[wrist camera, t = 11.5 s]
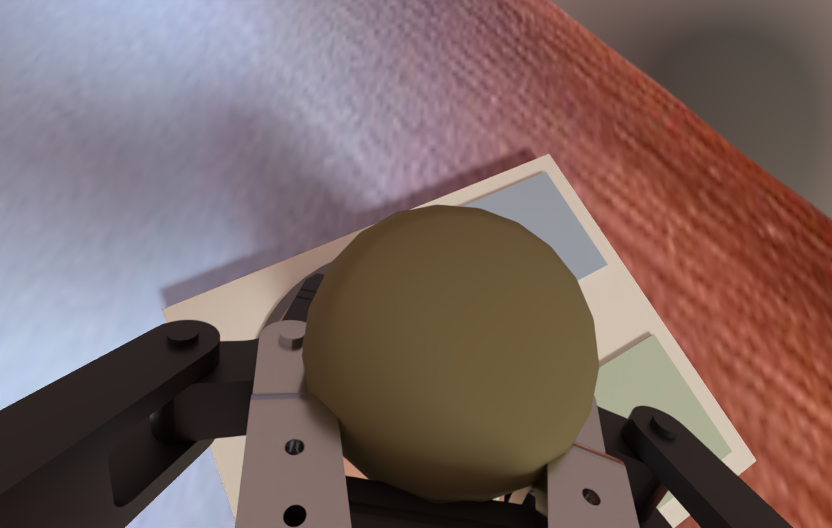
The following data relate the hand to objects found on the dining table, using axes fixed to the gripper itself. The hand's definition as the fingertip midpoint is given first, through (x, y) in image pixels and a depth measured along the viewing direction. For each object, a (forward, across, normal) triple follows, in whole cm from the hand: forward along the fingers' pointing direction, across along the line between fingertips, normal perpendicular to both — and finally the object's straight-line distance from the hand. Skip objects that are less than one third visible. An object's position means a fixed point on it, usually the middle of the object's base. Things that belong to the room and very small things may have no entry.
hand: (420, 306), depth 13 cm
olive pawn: (+2, 0, +5) cm, 5 cm away
